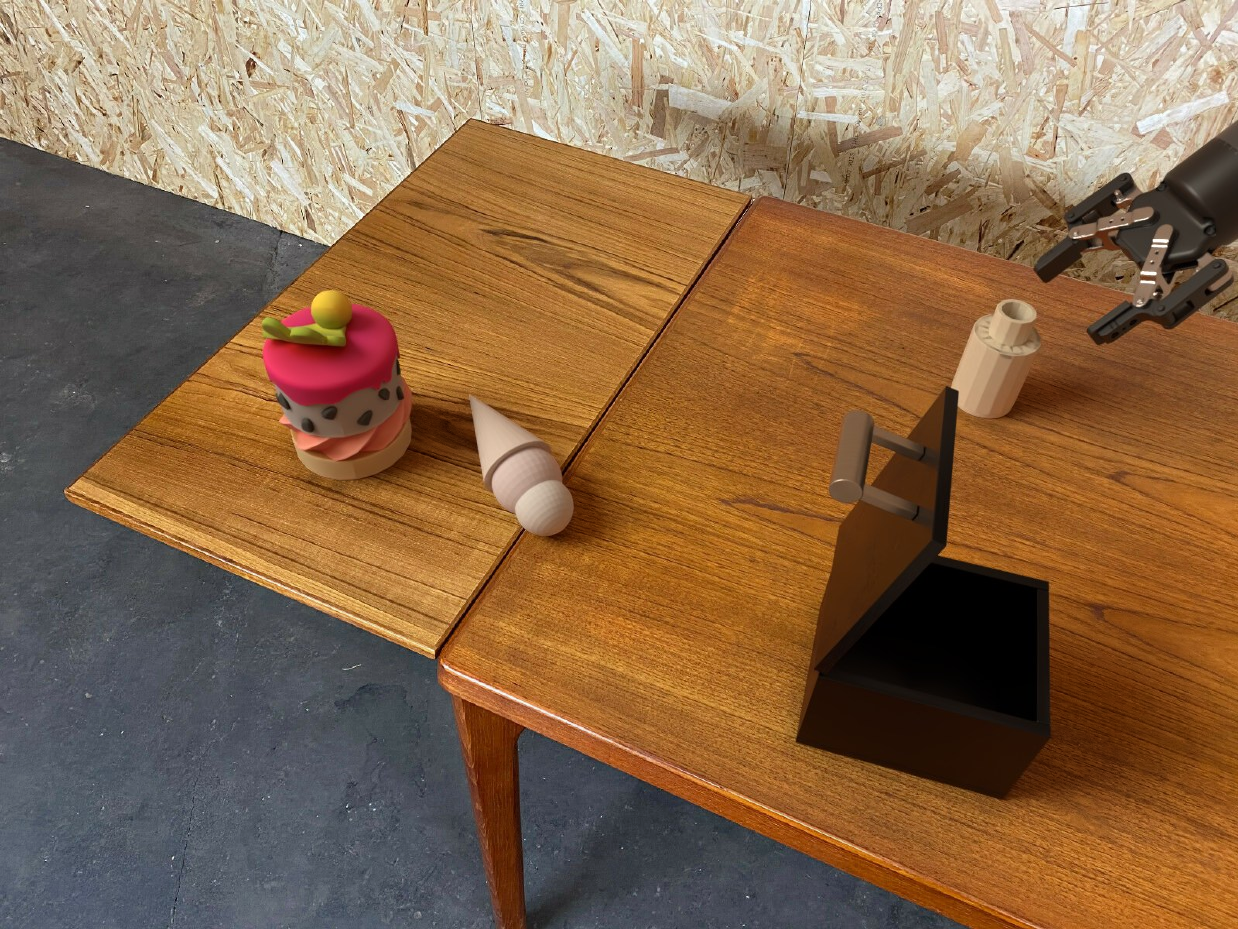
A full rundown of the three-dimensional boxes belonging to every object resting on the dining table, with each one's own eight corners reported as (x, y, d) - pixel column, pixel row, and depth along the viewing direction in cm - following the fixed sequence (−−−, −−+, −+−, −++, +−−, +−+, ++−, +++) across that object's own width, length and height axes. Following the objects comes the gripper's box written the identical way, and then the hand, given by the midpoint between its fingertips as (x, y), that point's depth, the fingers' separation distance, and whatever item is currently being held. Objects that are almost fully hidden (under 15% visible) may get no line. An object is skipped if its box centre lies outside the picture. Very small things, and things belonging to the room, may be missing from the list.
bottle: (1013, 383, 89) (1051, 297, 82) (1012, 424, 85) (1051, 338, 78) (951, 371, 90) (984, 285, 83) (948, 411, 86) (981, 324, 79)
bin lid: (959, 390, 54) (867, 353, 54) (946, 546, 46) (840, 503, 46) (849, 530, 65) (773, 499, 65) (825, 674, 57) (739, 639, 57)
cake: (313, 391, 86) (272, 251, 75) (428, 400, 86) (404, 261, 75) (274, 477, 79) (222, 337, 68) (399, 488, 79) (368, 349, 68)
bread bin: (1006, 651, 69) (1049, 581, 63) (1002, 800, 62) (1051, 737, 55) (820, 605, 72) (843, 532, 65) (795, 742, 64) (817, 676, 58)
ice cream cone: (474, 422, 84) (560, 553, 77) (422, 415, 79) (509, 555, 72) (514, 371, 81) (606, 503, 75) (462, 361, 76) (557, 501, 70)
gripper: (1178, 98, 77) (1004, 236, 83) (1301, 194, 68) (1095, 340, 74) (1204, 152, 82) (1038, 278, 88) (1322, 248, 72) (1126, 380, 79)
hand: (1064, 306), depth 81 cm, fingers open, 8 cm apart
